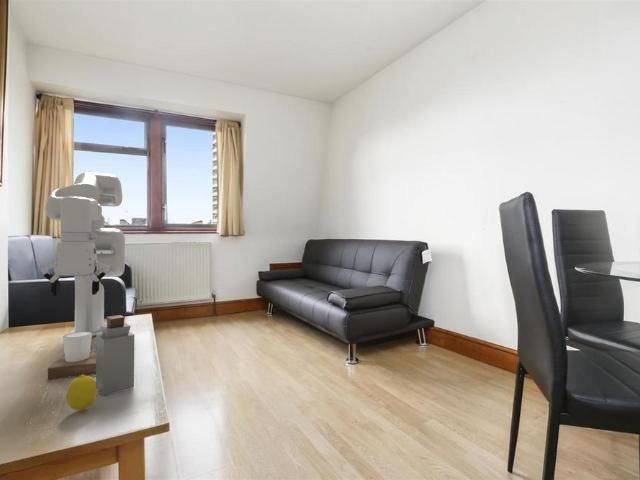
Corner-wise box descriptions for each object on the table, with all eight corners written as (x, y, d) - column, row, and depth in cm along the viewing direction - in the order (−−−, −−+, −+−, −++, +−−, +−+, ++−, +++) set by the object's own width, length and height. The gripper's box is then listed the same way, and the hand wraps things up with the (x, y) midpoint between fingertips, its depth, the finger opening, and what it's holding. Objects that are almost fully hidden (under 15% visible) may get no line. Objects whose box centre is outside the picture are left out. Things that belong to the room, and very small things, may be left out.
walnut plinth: (64, 363, 100) (64, 353, 100) (110, 359, 104) (110, 349, 104) (47, 379, 89) (47, 368, 89) (99, 373, 93) (99, 363, 93)
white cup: (76, 363, 92) (76, 338, 92) (56, 361, 94) (56, 336, 94) (97, 355, 99) (97, 332, 99) (78, 353, 100) (79, 330, 100)
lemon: (76, 405, 75) (76, 370, 75) (102, 404, 76) (102, 369, 76) (59, 418, 70) (60, 380, 70) (87, 417, 70) (87, 379, 70)
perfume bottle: (95, 387, 84) (96, 317, 84) (125, 379, 89) (125, 312, 89) (103, 396, 80) (104, 321, 80) (133, 387, 85) (134, 317, 85)
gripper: (112, 238, 106) (111, 291, 107) (46, 237, 100) (46, 293, 101) (106, 239, 99) (106, 295, 100) (35, 238, 93) (35, 298, 94)
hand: (76, 294), depth 100 cm, fingers open, 9 cm apart
